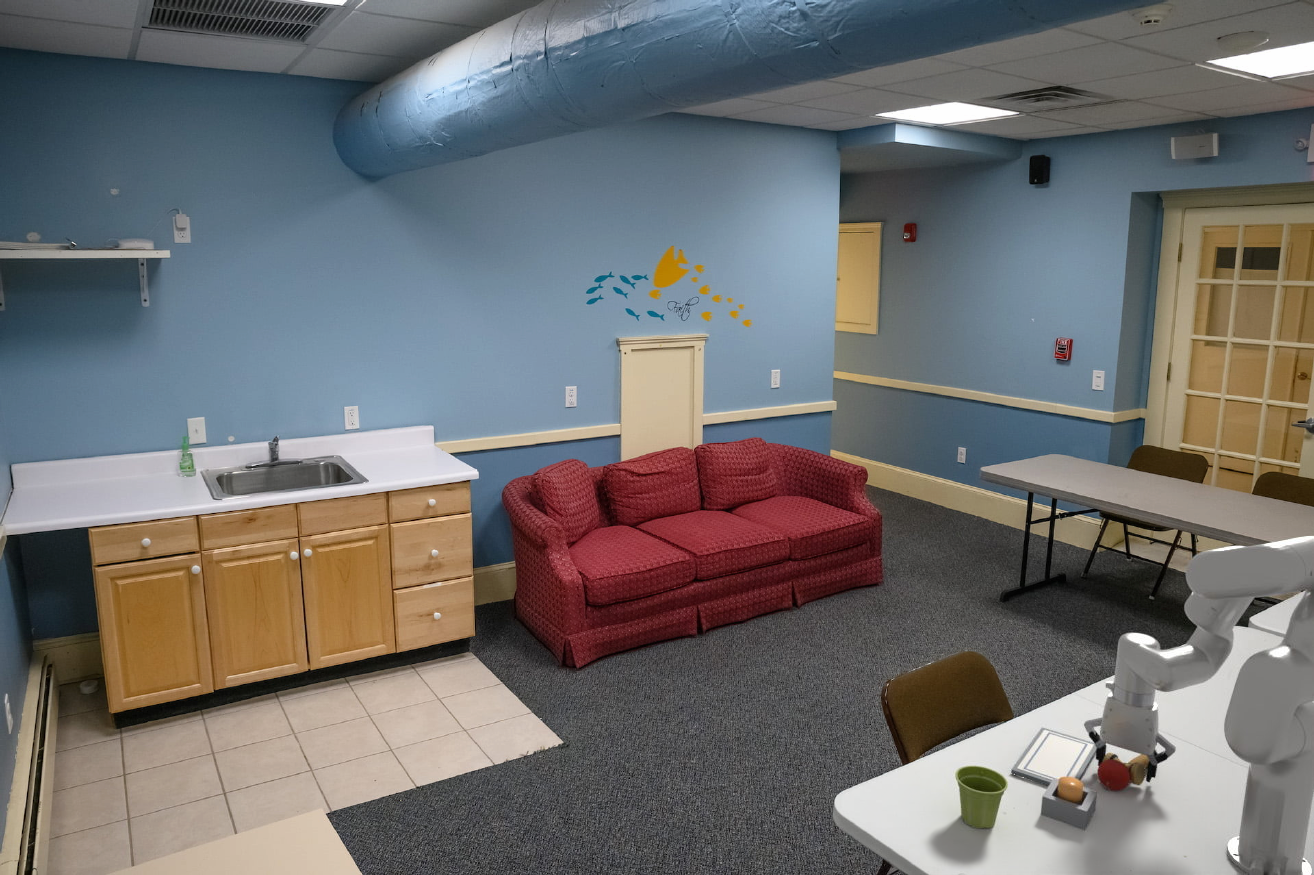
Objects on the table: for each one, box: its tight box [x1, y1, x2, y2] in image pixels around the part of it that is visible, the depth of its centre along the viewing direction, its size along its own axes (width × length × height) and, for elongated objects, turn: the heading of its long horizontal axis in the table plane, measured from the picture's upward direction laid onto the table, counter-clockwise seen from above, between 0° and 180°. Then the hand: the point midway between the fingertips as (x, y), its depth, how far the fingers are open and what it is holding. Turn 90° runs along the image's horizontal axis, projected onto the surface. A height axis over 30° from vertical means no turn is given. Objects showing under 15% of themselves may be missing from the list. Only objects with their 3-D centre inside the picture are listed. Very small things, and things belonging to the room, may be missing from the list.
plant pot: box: [955, 765, 1009, 829], centre depth 172 cm, size 9×9×9 cm
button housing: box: [1040, 778, 1098, 831], centre depth 175 cm, size 8×8×4 cm
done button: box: [1057, 776, 1085, 804], centre depth 174 cm, size 4×4×3 cm
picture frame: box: [1010, 727, 1097, 787], centre depth 193 cm, size 22×12×1 cm, turn 142°
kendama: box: [1096, 752, 1149, 792], centre depth 186 cm, size 8×6×18 cm
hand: (1124, 771), depth 186 cm, fingers open, 8 cm apart
